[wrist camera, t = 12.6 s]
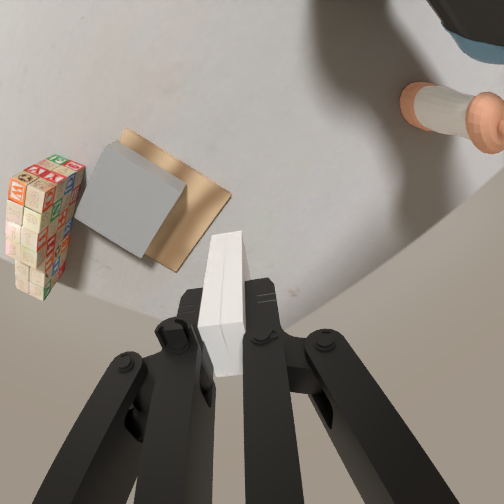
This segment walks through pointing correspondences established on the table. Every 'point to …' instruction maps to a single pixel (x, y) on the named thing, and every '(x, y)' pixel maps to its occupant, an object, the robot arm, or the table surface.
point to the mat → (179, 204)
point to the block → (128, 198)
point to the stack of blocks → (41, 222)
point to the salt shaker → (456, 114)
